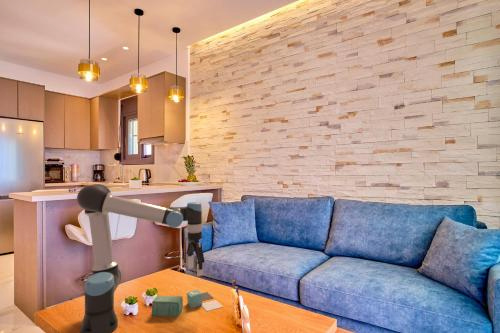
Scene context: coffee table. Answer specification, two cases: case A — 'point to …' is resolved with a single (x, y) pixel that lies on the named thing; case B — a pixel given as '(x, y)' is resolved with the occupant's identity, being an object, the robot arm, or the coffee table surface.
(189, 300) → the letter cube
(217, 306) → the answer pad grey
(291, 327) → the coffee table surface
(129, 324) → the coffee table surface
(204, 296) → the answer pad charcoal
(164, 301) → the box
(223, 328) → the coffee table surface
